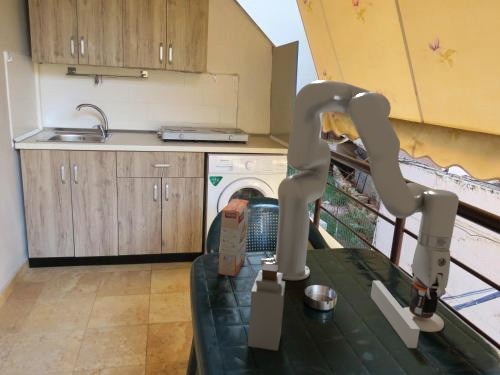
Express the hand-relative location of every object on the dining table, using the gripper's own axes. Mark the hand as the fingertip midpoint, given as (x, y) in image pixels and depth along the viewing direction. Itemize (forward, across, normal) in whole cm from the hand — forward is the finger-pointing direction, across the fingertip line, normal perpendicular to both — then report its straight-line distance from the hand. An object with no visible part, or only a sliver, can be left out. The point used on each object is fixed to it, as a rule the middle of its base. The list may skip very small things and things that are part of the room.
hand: (422, 304), depth 106 cm
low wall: (+4, 0, +8) cm, 9 cm away
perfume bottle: (+5, -9, +42) cm, 43 cm away
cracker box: (+5, +30, +48) cm, 57 cm away
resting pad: (+4, 0, 0) cm, 4 cm away
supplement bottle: (+3, 0, 0) cm, 3 cm away
